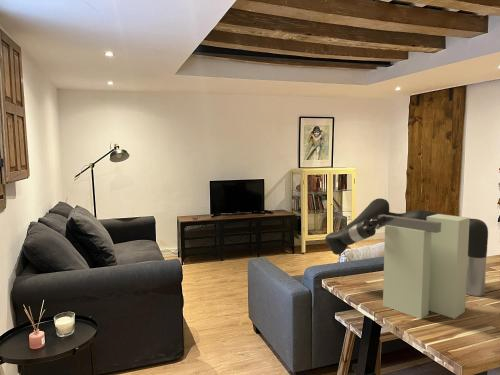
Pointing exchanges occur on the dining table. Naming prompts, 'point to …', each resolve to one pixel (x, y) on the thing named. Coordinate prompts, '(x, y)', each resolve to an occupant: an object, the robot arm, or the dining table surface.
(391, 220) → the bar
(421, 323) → the dining table surface
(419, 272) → the block
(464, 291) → the stand
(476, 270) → the robot arm
